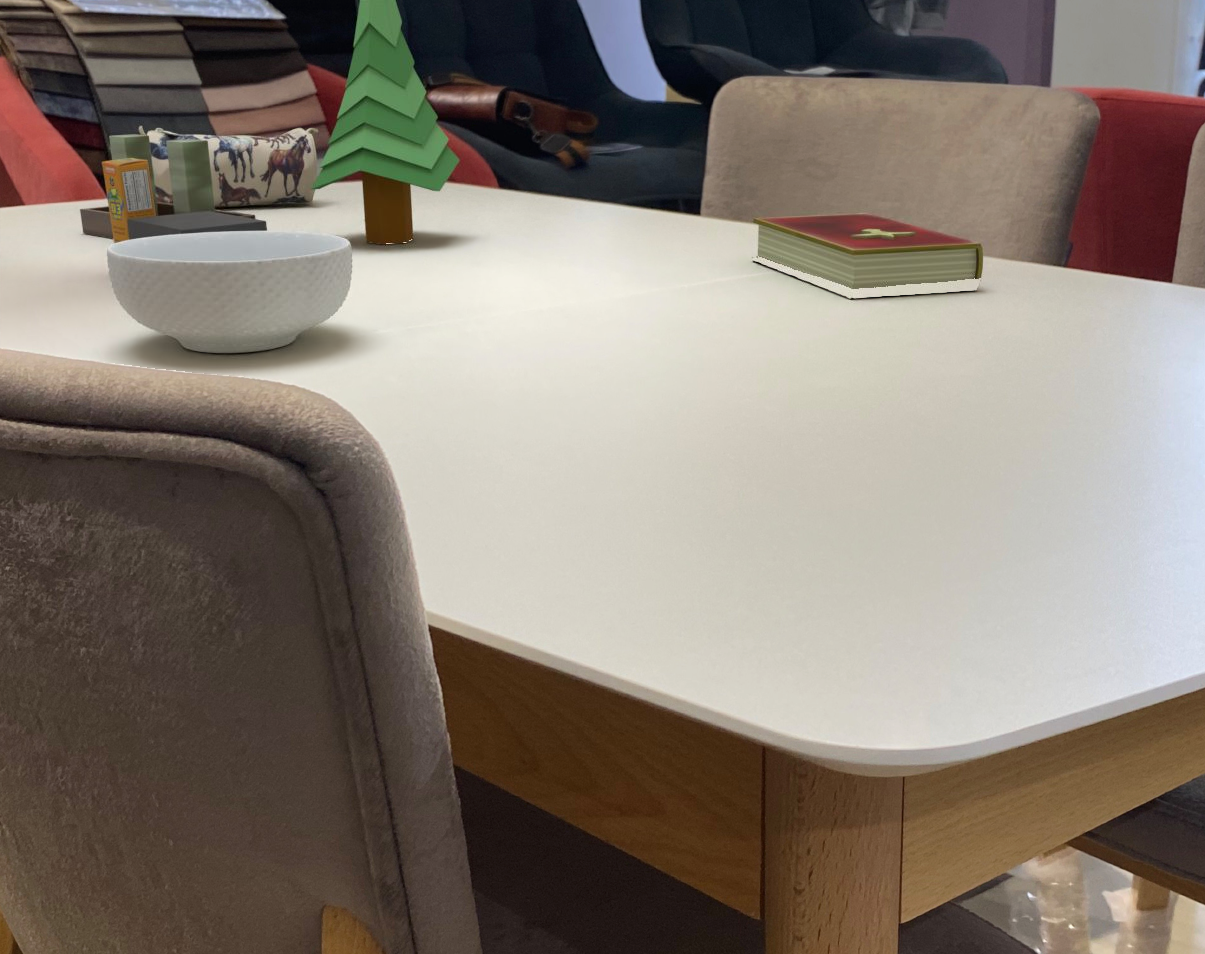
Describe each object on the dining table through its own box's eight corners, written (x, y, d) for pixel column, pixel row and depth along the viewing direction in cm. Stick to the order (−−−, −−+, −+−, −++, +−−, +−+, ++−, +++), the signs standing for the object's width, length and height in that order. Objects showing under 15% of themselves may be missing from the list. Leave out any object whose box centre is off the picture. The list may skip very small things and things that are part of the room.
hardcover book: (867, 254, 140) (870, 209, 138) (980, 291, 121) (985, 239, 120) (752, 261, 137) (753, 215, 135) (850, 299, 118) (853, 246, 116)
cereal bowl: (393, 351, 101) (387, 247, 98) (151, 379, 93) (137, 268, 90) (312, 312, 114) (304, 220, 112) (95, 334, 107) (82, 236, 104)
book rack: (181, 250, 146) (169, 145, 142) (83, 233, 158) (69, 136, 154) (257, 240, 152) (248, 139, 148) (157, 224, 164) (146, 131, 160)
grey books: (197, 297, 121) (190, 231, 119) (125, 282, 128) (117, 219, 126) (290, 282, 127) (284, 219, 125) (216, 269, 134) (210, 209, 132)
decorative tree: (300, 250, 145) (273, -81, 133) (353, 230, 159) (332, -71, 148) (431, 253, 142) (414, -83, 131) (472, 232, 157) (460, -73, 145)
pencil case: (142, 214, 173) (131, 128, 169) (142, 206, 180) (132, 123, 176) (327, 207, 178) (320, 124, 174) (320, 199, 186) (313, 119, 182)
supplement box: (113, 273, 133) (98, 159, 129) (148, 269, 135) (134, 157, 131) (131, 277, 130) (117, 162, 127) (166, 272, 133) (152, 159, 129)
